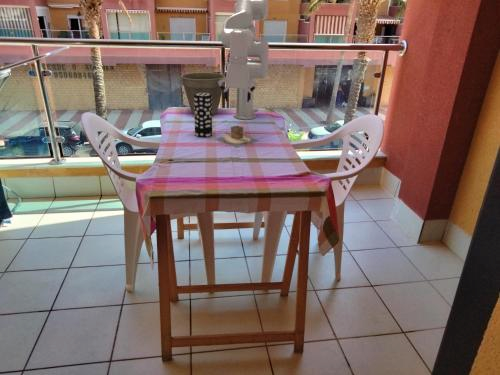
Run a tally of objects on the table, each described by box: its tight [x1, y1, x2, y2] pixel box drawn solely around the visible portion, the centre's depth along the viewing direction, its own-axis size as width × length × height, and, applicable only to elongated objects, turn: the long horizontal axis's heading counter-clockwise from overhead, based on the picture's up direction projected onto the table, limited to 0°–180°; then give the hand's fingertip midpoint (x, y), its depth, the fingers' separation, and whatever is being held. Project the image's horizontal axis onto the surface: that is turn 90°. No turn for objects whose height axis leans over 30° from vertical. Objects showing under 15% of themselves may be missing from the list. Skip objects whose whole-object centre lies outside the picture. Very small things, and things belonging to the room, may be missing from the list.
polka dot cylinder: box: [193, 93, 213, 139], centre depth 175 cm, size 8×8×20 cm
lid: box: [222, 125, 252, 145], centre depth 173 cm, size 13×13×6 cm
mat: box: [214, 136, 260, 148], centre depth 174 cm, size 15×15×1 cm
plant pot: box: [180, 72, 226, 116], centre depth 214 cm, size 25×25×22 cm
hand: (237, 101), depth 166 cm, fingers open, 9 cm apart
